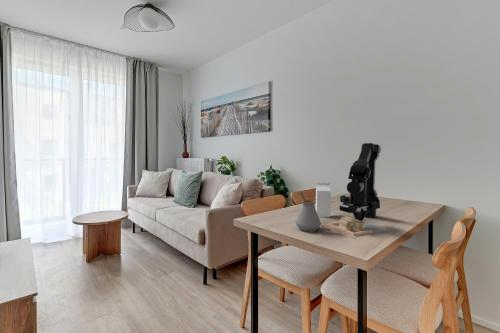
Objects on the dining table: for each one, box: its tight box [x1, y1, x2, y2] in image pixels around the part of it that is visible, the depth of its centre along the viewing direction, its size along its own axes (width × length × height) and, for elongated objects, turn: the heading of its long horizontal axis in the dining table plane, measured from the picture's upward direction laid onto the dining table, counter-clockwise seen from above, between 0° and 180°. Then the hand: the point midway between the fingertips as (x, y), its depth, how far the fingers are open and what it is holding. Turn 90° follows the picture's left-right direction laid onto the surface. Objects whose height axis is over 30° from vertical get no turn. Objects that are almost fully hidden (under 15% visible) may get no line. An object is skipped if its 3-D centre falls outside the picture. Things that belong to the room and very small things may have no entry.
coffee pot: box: [295, 191, 322, 232], centre depth 118 cm, size 21×12×15 cm, turn 2°
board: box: [325, 221, 389, 239], centre depth 113 cm, size 21×18×2 cm
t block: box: [338, 216, 366, 232], centre depth 110 cm, size 8×10×4 cm
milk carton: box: [315, 181, 332, 219], centre depth 135 cm, size 7×7×19 cm
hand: (358, 225), depth 113 cm, fingers closed
